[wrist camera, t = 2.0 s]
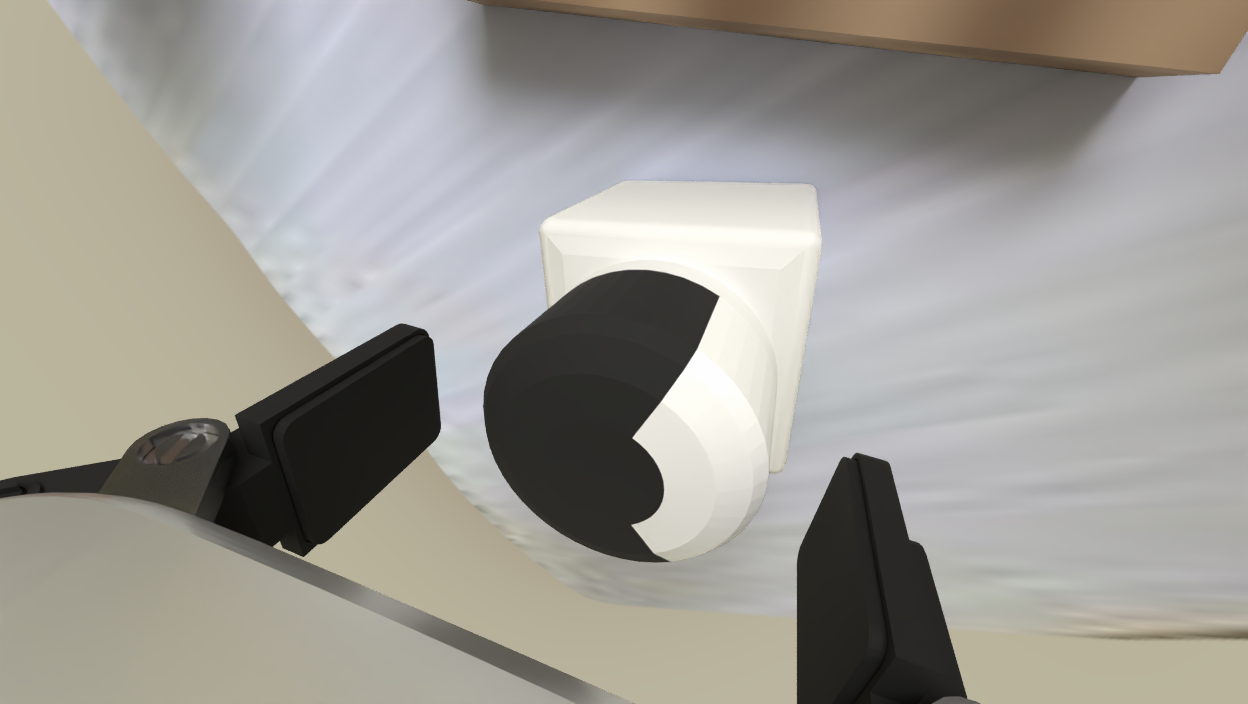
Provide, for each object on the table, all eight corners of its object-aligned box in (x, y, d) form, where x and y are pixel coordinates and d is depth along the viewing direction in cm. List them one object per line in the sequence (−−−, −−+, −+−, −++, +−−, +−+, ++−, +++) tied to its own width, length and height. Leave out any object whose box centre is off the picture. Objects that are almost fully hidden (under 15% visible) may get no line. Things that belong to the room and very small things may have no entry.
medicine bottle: (626, 343, 22) (473, 556, 12) (621, 178, 18) (400, 281, 8) (790, 363, 20) (773, 644, 10) (818, 182, 16) (838, 325, 6)
